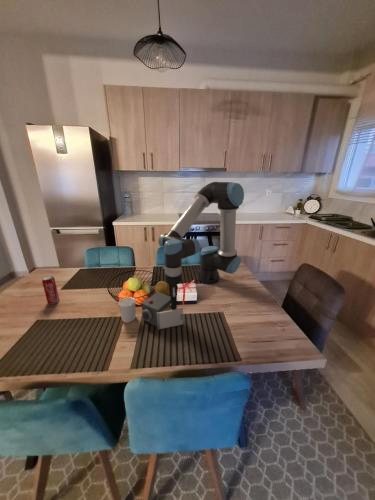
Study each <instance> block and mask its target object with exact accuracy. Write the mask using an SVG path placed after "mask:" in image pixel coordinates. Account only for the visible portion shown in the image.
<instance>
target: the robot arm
mask: <svg viewBox="0 0 375 500" xmlns="http://www.w3.org/2000/svg"><path fill="white" fill-rule="evenodd" d="M244 191H245V190H244V187H243V186H242V184H240V183H238V182H233V181H213V182H210V183H207V184H206V185H205V186H203V187H201V188H200V189H199V191H198V192H197V193H196V194H195V196H194V200H193V201H192V202H191V203H190V205H189V206H188V207H187V208H186V209H185V211H184V212H183V213H182V214H181V215H180V217H179V218H178V219H177V220H176V222H175V224H174V225H173V226H172V227H171V229H169V231H168V232H167V233H162V234H160V235H159V237H158V240H157V241H158V245H159V246H160V247H161V248H163V252H164V253H163V254H164V255H163V257H164V267H162V269H163V270H164V282H166V283H167V284H168V285H169V291H170V294H169V296H170V300H171V302H170V303H171V304H170V306H169V308H170V309H171V310H174V309H178V307H177V304H178V284H180V283H182V269H183V268H182V266H183V265H182V261H183V260H184V259H186V258H189V257H191V256H195V255H196V254H197V253H199V252H200V266H199V267H200V269H199V271H198V274H197V280H198V281H199V282H200V281H201V282H200V283H202V282H203V283H202V284H205V283H206V284H205V285H213V284H217V283H219V281H220V274H219V273H220V272H219V271H221V272H224V273H227V274H231V275H232V274H235V273H236V272H237V271H238V269H239V267H240V265H241V261H242V260H241V259H242V258H241V256H239V255H238V250H237V249H236V248H235V247H236V228H237V227H236V226H237V224H236V221H237V218H236V217H237V211H238V209H240V206H241V205H242V204H243V202H244V199H245V192H244ZM212 204H217V209H218V210H219V211H220V215H219V216H220V225H219V226H220V231H219V233H220V234H219V235H220V236H219V237H220V240H219V241H220V242H219V243H220V245H219V246H220V248H219V247H218V246H215V245H208V246H204V247H202V248H201V243H200V241H199V240H198V239H196V238H188V239H186V238H184V236H185V235H186V234H187V233H188V231H189V230H190V229H191V227H192V226H193V224H194V223H195V222H196V221H197V219H198V218H199V217H200V216H201V214H202V213H203V212H204V210H205V209H206V208H208V207H210V205H212Z"/></svg>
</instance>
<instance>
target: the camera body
mask: <svg viewBox="0 0 375 500" xmlns="http://www.w3.org/2000/svg"><path fill="white" fill-rule="evenodd" d="M170 302H171V300H170V295H168V296H167V295H165V294H162V293H160V292H157V293H155V292H154V294H153V295H150V296H149V297H148V298H146V299H145V300H144V301H143V302H141V316H142V320H143V321H144V322H147V323H148V324H150V325H152V326H155V327H156V328H158V327H157V312H163V311H169V310H171V309H170V308H169V306H170V304H171V303H170Z"/></svg>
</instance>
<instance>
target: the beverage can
mask: <svg viewBox="0 0 375 500" xmlns="http://www.w3.org/2000/svg"><path fill="white" fill-rule="evenodd" d="M41 283H42V286H43V290H44V293H45V298H46V299H45V300H46V303H47V304H49V305H53V304H57V303H58V302H59V301H60V296H59V292H58V287H57V284H56V279H55V277H54V276H52V275H47V276H45V277H43V278H42V279H41Z"/></svg>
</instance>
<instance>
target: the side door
mask: <svg viewBox="0 0 375 500" xmlns="http://www.w3.org/2000/svg"><path fill="white" fill-rule="evenodd" d="M182 325H184V308H183V307H181V308H180V307H179V308H176V309H174V310H169V311H163V312H157V327H156V328H157V330H162V329H168V328H171V327H172V328H173V327H177V326H182Z"/></svg>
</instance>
